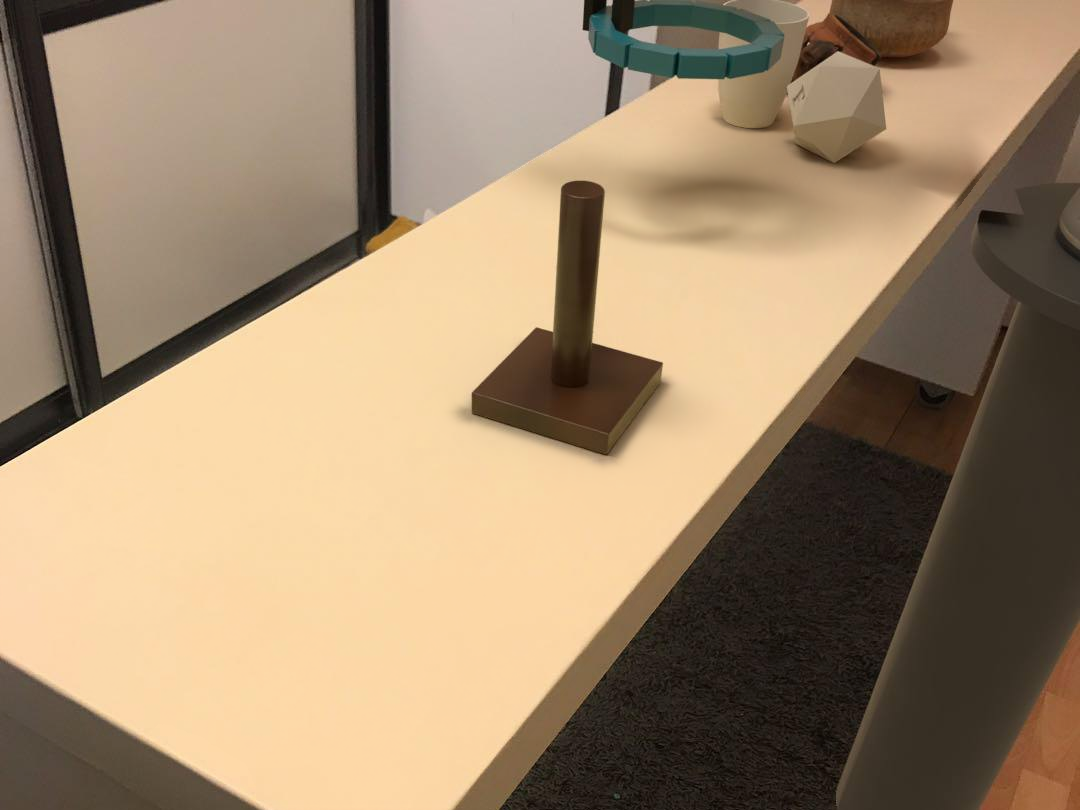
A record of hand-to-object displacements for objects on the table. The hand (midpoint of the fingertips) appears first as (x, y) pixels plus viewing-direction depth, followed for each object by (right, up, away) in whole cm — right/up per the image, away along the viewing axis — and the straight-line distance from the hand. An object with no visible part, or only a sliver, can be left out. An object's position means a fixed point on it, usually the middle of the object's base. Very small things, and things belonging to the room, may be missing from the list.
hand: (607, 28), depth 82 cm
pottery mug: (+24, +8, +31) cm, 40 cm away
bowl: (+35, +18, +44) cm, 59 cm away
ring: (+6, -2, -2) cm, 6 cm away
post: (-3, -31, -15) cm, 34 cm away
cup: (+15, +2, +24) cm, 28 cm away
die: (+22, -3, +18) cm, 28 cm away
